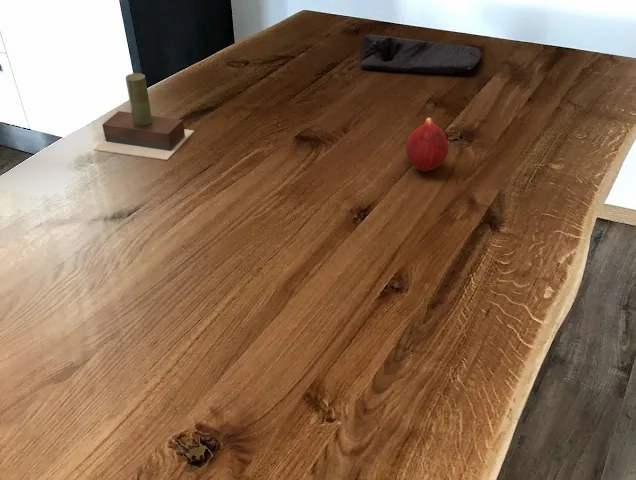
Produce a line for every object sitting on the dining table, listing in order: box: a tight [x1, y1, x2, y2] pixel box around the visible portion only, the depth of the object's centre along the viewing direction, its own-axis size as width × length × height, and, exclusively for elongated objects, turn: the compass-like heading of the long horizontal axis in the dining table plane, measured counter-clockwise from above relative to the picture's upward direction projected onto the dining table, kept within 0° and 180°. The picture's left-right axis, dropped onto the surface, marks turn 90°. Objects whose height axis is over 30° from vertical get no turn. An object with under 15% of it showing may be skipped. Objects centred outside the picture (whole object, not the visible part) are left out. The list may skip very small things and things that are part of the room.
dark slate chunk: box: [359, 34, 482, 75], centre depth 136 cm, size 15×22×5 cm
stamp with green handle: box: [102, 72, 185, 151], centre depth 109 cm, size 11×5×10 cm, turn 73°
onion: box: [405, 117, 449, 173], centre depth 102 cm, size 6×6×8 cm
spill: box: [93, 128, 195, 161], centre depth 112 cm, size 12×10×1 cm
